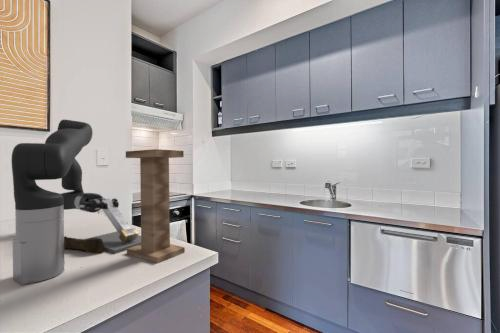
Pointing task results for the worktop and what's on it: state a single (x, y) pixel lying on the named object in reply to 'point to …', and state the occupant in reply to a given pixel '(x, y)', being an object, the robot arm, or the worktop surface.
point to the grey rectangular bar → (119, 222)
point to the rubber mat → (117, 242)
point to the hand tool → (85, 244)
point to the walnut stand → (155, 205)
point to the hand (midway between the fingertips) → (112, 205)
